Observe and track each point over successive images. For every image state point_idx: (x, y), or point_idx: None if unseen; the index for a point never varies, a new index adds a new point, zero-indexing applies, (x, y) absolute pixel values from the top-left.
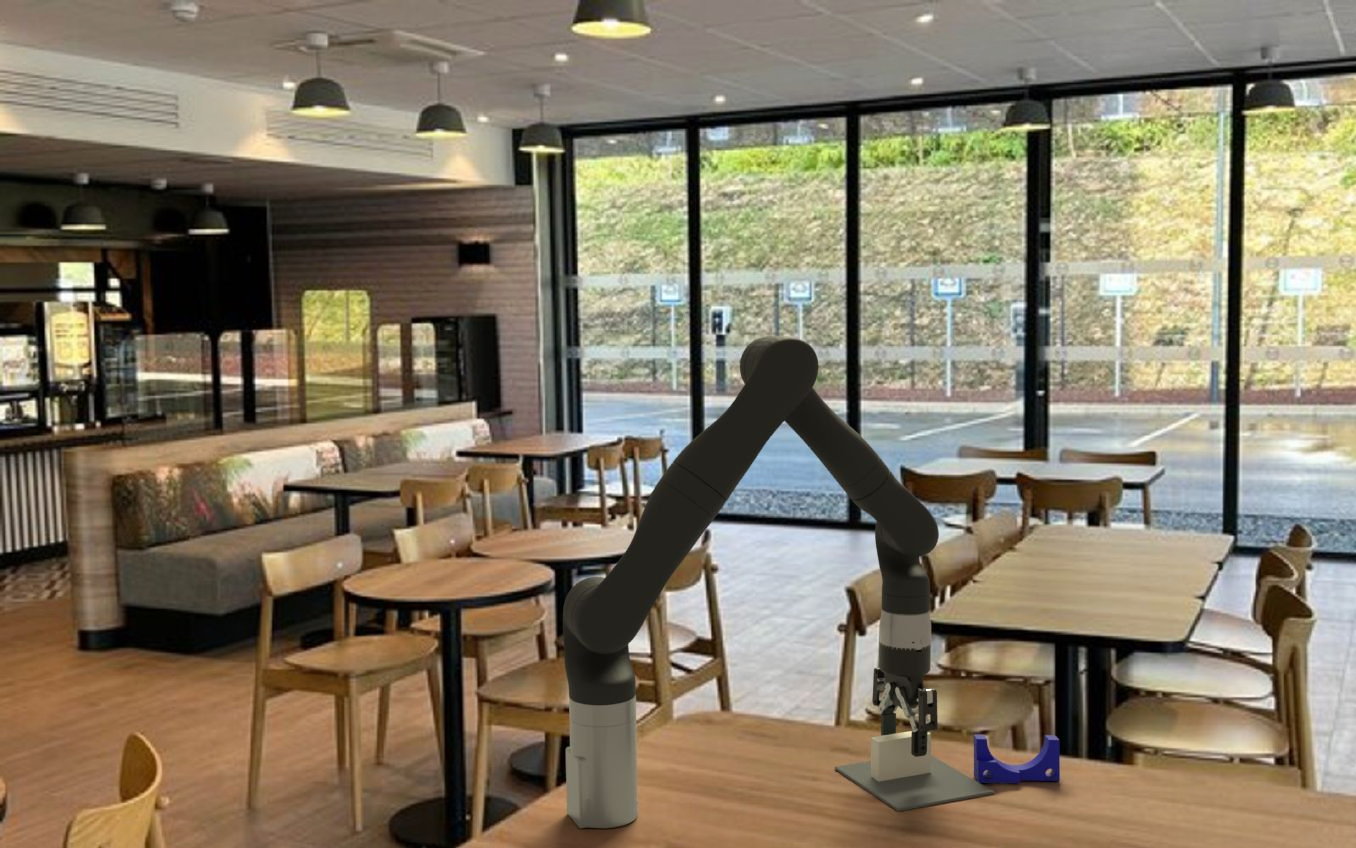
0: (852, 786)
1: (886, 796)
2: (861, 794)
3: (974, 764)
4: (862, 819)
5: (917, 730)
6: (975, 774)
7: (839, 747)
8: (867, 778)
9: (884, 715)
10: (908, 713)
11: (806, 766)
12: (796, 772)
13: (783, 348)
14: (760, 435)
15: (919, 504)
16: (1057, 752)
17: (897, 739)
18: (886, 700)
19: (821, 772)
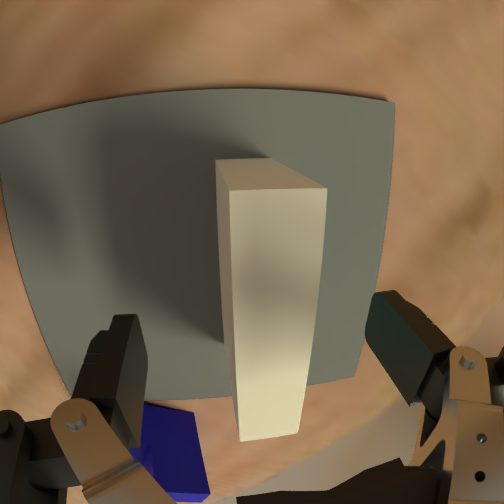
0: (237, 67)
1: (80, 125)
2: (156, 62)
3: (187, 432)
4: (2, 16)
5: (58, 414)
6: (171, 414)
7: (484, 213)
8: (260, 137)
9: (431, 358)
10: (85, 495)
11: (435, 54)
12: (407, 3)
13: None
14: None
15: None
16: None
17: (233, 316)
18: (453, 443)
19: (386, 55)
